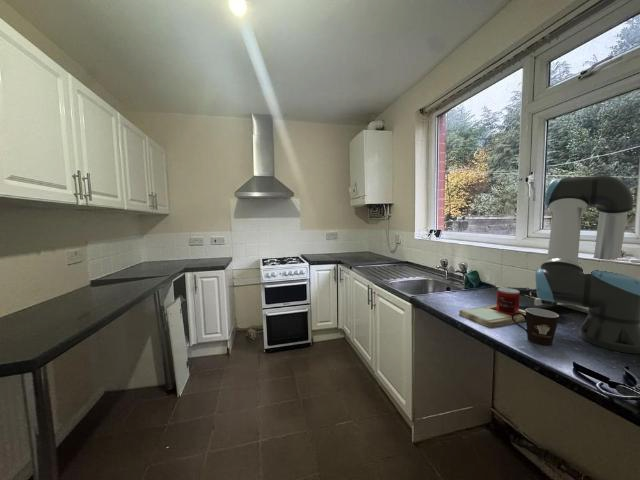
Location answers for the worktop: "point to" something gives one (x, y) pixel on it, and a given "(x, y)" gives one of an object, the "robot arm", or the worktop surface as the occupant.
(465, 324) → the worktop surface
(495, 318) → the board
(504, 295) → the canned food
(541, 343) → the coffee mug
